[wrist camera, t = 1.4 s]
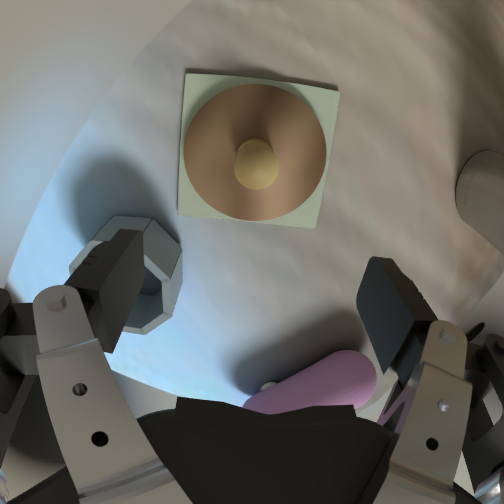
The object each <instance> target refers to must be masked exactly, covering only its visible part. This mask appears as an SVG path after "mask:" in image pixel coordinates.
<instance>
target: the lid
mask: <svg viewBox="0 0 504 504" xmlns="http://www.w3.org/2000/svg"><path fill="white" fill-rule="evenodd" d="M326 157H327V149H326V141H325V136H324V133H323V129H322V127H321V125H320V123H319V121H318V119H317V117H316V116H315V114H314V113H313V112H312V110H311V109H310V108H309V107H308V106H307V105H306V104H305V103H304V102H303V101H302V100H301V99H299V98H298V97H296V96H295V95H293V94H292V93H290V92H288V91H286V90H284V89H281V88H278V87H275V86H270V85H265V84H246V85H240V86H236V87H232V88H230V89H227V90H224V91H223V92H221V93H219V94H217V95H215V96H214V97H213V98H211V99H210V100H208V101H207V102H206V103H205V104H204V105H203V106H202V107H201V108H200V109H199V111H198V112H197V113H196V115H195V116H194V118H193V119H192V121H191V123H190V125H189V128H188V130H187V133H186V137H185V141H184V164H185V169H186V172H187V175H188V178H189V180H190V182H191V184H192V186H193V187H194V189H195V191H196V192H197V193H198V194H199V196H200V197H201V198H202V199H203V200H204V201H205V202H206V203H207V204H208V205H210V206H211V207H212V208H214V209H215V210H217V211H219V212H220V213H222V214H225V215H227V216H229V217H232V218H236V219H240V220H246V221H264V220H270V219H274V218H277V217H281V216H283V215H285V214H288V213H290V212H291V211H293V210H295V209H296V208H298V207H299V206H300V205H302V204H303V203H304V202H305V201H306V200H307V199H308V198H309V197H310V196H311V195H312V193H313V192H314V191H315V189H316V188H317V186H318V184H319V182H320V180H321V178H322V175H323V173H324V169H325V165H326Z"/></svg>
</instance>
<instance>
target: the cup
mask: <svg viewBox="0 0 504 504" xmlns="http://www.w3.org/2000/svg"><path fill="white" fill-rule="evenodd" d="M120 228H125V229H135V230H141V231H142V233H143V247H144V266H145V275H144V282H143V286H142V288H141V290H140V293H139V295H138V297H137V299H136V301H135V303H134V306H133V308H132V310H131V312H130V314H129V317H128V319H127V321H126V323H125V326H124V328H123V330H122V331H123V332H129V333H135V334H142V335H144V334H145V335H146V334H147V333H149V332H150V331H152V330H153V329H155V328H156V327H158V326H159V325H161V324H162V323H163V322H165V321H166V320H168V319H169V318H171V317H172V315H173V312H174V308H175V305H176V302H177V298H178V295H179V292H180V289H181V285H182V248H181V247H180V246H179V245H178V244H177V243H176V241H175V240H174V239H173V238H172V237H171V236H170V235H169V234H168V233H167V232H166V231H165V230H164V229H163V228H162V227H161V226H160V225H159V224H158V223H157V222H156V221H155V220H154V219H153V220H152V218H142V217H129V216H116V215H114V216H113V217H112V218H111V219H110V220H109V221H108V222H107V223H106V224H105V225H104V226H103V227H102V228H101V230H100V231H99V232H98V233H97V234H96V235H95V236H94V237H93V238H92V239H91V241H90V242H89V243H88V244H87V245H86V246H85V247H84V249H83V250H82V251H81V252H80V253H79V254H78V255H77V257H76V258H75V259H74V260H73V261H72V263H71V264H70V265H69V272H70V276H71V275H72V273H73V272H74V271H75V270H76V268H77V267H78V266H79V265H80V264H81V262H82V261H83V260H84V258H85V257H87V255H88V253H89V252H90V251H91V250H92V249H93V247H95V246H96V245H98V244H100V243H102V242H103V241H110V240H111V239H112V237H113V236H114V235H115V234H116V232H117V231H118V230H119V229H120ZM153 295H154V296H153Z"/></svg>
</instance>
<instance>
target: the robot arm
mask: <svg viewBox="0 0 504 504" xmlns="http://www.w3.org/2000/svg"><path fill="white" fill-rule="evenodd" d="M456 205H457V209H458V212H459V214H460V216H461V218H462V219H463V220H464V221H465V222H466V223H467V224H468V225H469V226H471V227H472V228H473V229H474V230H476V231H477V232H478V233H479V234H480V235H482V236H483V237H484V238H485V239H486V240H487V241H488V242H490V243H491V244H492V245H493V246H494V247H495V248H496V249H498V250H499V251H500V252H501V253H502V254H503V255H504V156H502V155H500V154H498V153H495V152H493V151H481V152H479V153H477V154H475V155H474V156H473V157H472V158H470V159H469V161H468V162H467V163H466V164H465V166H464V168H463V170H462V171H461V173H460V176H459V179H458V183H457V188H456ZM144 275H145V266H144V247H143V233H142V231H141V230H135V229H125V228H120V229H119V230H118V231H117V232H116V234H115V235H114V236H113V237H112V239H111V240H110V241H103V242H102V243H100V244H98V245H96V246H95V247H93V249H92V250H91V251H90V252H89V253H88V255H87V257H85V258H84V260H83V261H82V262H81V264H80V265H79V266H78V267H77V268H76V270H75V271H74V272H73V273H72V275H71V276H70V277H69V279H68V280H67V281H66V282H65V284H64V285H56V286H52V287H49V288H46V289H44V290H43V291H41V292H40V293H39V294H38V295H37V296H36V297H35V299H34V301H33V303H15V304H13V303H12V300H11V297H10V294H9V292H8V291H7V290H5V289H2V288H0V504H504V338H502V337H501V336H499V335H496V334H489V335H487V336H486V338H485V339H484V341H483V342H482V344H481V345H477V344H473V343H469V342H467V339H466V336H465V335H464V333H463V332H462V331H461V330H460V329H459V328H458V327H457V326H455V325H454V324H452V323H450V322H448V321H444V320H438V318H437V317H436V315H435V314H434V312H433V311H432V309H431V308H430V306H429V305H428V303H427V302H426V300H425V299H423V296H422V294H421V293H420V292H418V288H417V287H416V286H415V284H414V283H413V281H412V280H410V279H409V278H408V277H407V276H406V275H404V274H403V273H402V272H401V270H400V269H399V267H398V266H397V265H396V263H395V262H394V260H393V259H391V258H383V257H375V256H373V257H371V258H370V260H369V262H368V264H367V267H366V270H365V273H364V276H363V279H362V282H361V284H360V287H359V290H358V293H357V299H356V304H357V309H358V311H359V314H360V316H361V319H362V321H363V323H364V326H365V328H366V331H367V333H368V336H369V338H370V341H371V343H372V346H373V348H374V351H375V354H376V356H377V359H378V361H379V364H380V367H381V369H382V372H383V375H396V374H397V375H398V377H399V378H398V379H397V381H396V382H395V384H394V386H393V388H392V390H391V393H390V395H389V397H388V399H387V402H386V404H385V406H384V408H383V410H382V412H381V415H380V417H379V419H378V421H377V422H373V421H370V420H368V419H364V418H360V417H356V413H355V409H354V405H353V404H352V405H325V406H310V407H306V408H302V409H297V410H292V411H288V412H283V413H278V414H264V413H260V412H256V411H253V410H249V409H245V408H242V407H238V406H235V405H232V404H228V403H225V402H219V401H210V400H201V399H193V398H185V397H177V403H176V408H175V409H168V410H162V411H157V412H153V413H149V414H146V415H144V416H142V417H139V418H137V419H136V418H135V416H134V415H133V413H132V411H131V409H130V407H129V405H128V403H127V401H126V400H125V397H124V396H123V393H122V392H121V390H120V387H119V385H118V383H117V381H116V379H115V377H114V375H113V373H112V370H111V368H110V366H109V364H108V361H107V359H106V357H105V355H104V352H107V353H112V354H113V351H114V349H115V347H116V344H117V342H118V340H119V337H120V335H121V333H122V330H123V328H124V326H125V323H126V321H127V319H128V317H129V314H130V312H131V310H132V308H133V306H134V303H135V301H136V299H137V297H138V295H139V293H140V290H141V288H142V286H143V282H144ZM36 375H40V379H41V384H42V388H43V392H44V396H45V400H46V404H47V408H48V411H49V415H50V418H51V422H52V425H53V428H54V431H55V434H56V437H57V440H58V443H59V446H60V449H61V451H62V454H63V457H64V460H65V462H66V465H67V466H65V467H64V468H62V469H60V470H59V471H57V472H56V473H54V474H53V475H51V476H50V477H48V478H47V479H45V480H43V481H42V482H40V483H38V484H37V485H35V486H34V487H32V488H31V489H29V490H27V491H25V492H24V493H22V494H20V495H19V496H17V497H15V498H13V499H12V500H10V501H8V502H7V503H6V499H7V498H8V496H9V492H8V489H7V487H6V480H5V476H4V473H3V471H2V469H1V466H2V462H3V459H4V456H5V453H6V450H7V447H8V444H9V441H10V438H11V436H12V433H13V430H14V427H15V425H16V422H17V419H18V417H19V414H20V412H21V409H22V407H23V404H24V402H25V399H26V397H27V395H28V393H29V390H30V388H31V386H32V383H33V381H34V379H35V376H36ZM493 387H494V389H495V391H496V393H497V395H498V397H499V399H500V401H501V403H502V407H503V413H502V416H501V418H500V420H499V421H498V422H497V423H496V424H495V425H493V423H492V421H491V418H490V416H489V414H488V411H487V409H486V407H485V404H484V402H483V399H484V397H485V396H486V395H487V394H488V393H489V391H490V390H491V389H492V388H493ZM461 450H462V452H463V455H464V458H465V462H466V465H467V468H468V472H469V475H470V479H471V482H472V486H473V490H474V494H475V496H474V497H473V496H472V495H471V494H470V493H468V492H467V491H466V490H464V489H463V488H462V487H460V486H459V485H458V484H456V483H455V482H454V478H455V474H456V470H457V467H458V463H459V459H460V455H461Z"/></svg>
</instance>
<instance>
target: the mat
mask: <svg viewBox="0 0 504 504" xmlns="http://www.w3.org/2000/svg"><path fill="white" fill-rule="evenodd" d="M246 84H265V85H270V86H275V87H278V88H281V89H284V90H286V91H288V92H290V93H292V94H293V95H295V96H296V97H298V98H299V99H301V100H302V101H303V102H304V103H305V104H306V105H307V106H308V107H309V108H310V109H311V110H312V112H313V113H314V114H315V116H316V117H317V119H318V121H319V123H320V125H321V127H322V129H323V133H324V136H325V141H326V149H327V157H326V165H325V169H324V173H323V175H322V178H321V180H320V182H319V184H318V186H317V188H316V189H315V191H314V192H313V193H312V195H311V196H310V197H309V198H308V199H307V200H306V201H305V202H304V203H303V204H302V205H300V206H299V207H298V208H296V209H295V210H293V211H291V212H290V213H288V214H285V215H283V216H281V217H277V218H274V219H270V220H264V221H247V222H257V223H267V224H276V225H286V226H295V227H304V228H313V229H315V228H316V223H317V218H318V214H319V209H320V204H321V199H322V194H323V189H324V184H325V179H326V173H327V168H328V163H329V157H330V152H331V146H332V140H333V135H334V129H335V123H336V117H337V110H338V104H339V97H340V92H338V91H333V90H329V89H324V88H318V87H313V86H307V85H302V84H296V83H289V82H282V81H275V80H267V79H259V78H249V77H239V76H226V75H210V74H186V78H185V88H184V100H183V112H182V126H181V142H180V160H179V185H178V215H182V216H194V217H205V218H216V219H227V220H237V221H246V220H240V219H236V218H232V217H229V216H227V215H225V214H222V213H220V212H219V211H217V210H215V209H214V208H212V207H211V206H210V205H208V204H207V203H206V202H205V201H204V200H203V199H202V198H201V197H200V196H199V194H198V193H197V192H196V191H195V189H194V187H193V186H192V184H191V182H190V180H189V178H188V175H187V172H186V169H185V164H184V141H185V137H186V133H187V130H188V128H189V125H190V123H191V121H192V119H193V118H194V116H195V115H196V113H197V112H198V111H199V109H200V108H201V107H202V106H203V105H204V104H205V103H206V102H207V101H208V100H210V99H211V98H213V97H214V96H215V95H217V94H219V93H221V92H223V91H224V90H227V89H230V88H232V87H236V86H240V85H246Z"/></svg>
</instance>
